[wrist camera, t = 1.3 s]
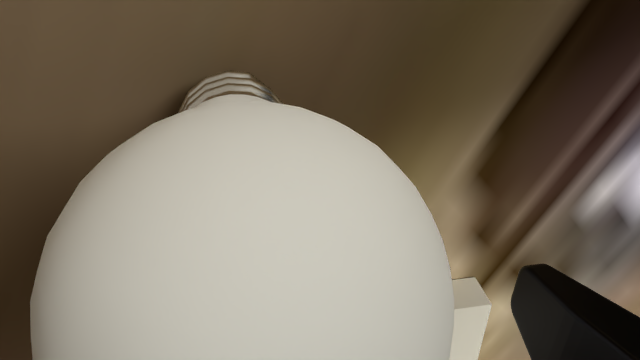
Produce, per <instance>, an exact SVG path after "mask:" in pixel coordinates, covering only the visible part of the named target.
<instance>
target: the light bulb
mask: <svg viewBox="0 0 640 360" xmlns="http://www.w3.org/2000/svg"><path fill="white" fill-rule="evenodd" d="M453 327H454V293H453V286H452V278H451V271H450V266H449V262H448V258H447V254H446V250H445V247H444V243H443V239H442V237H441V235H440V232H439V230H438V228H437V226H436V223H435V221H434V219H433V216H432V214H431V212H430V211H429V209H428V207H427V205H426V204H425V202H424V200H423V198H422V197H421V195H420V193H419V192H418V190H417V188H416V187H415V186H414V184H413V183H412V182H411V181H410V180H409V179H408V177H407V176H406V175H405V174H404V173H403V172H402V170H401V169H400V168H399V167H398V166H397V165H396V164H395V163H394V162H393V161H392V160H391V159H390V158H389V157H388V156H387V155H386V154H385V153H384V152H383V151H382V150H381V149H380V148H379V147H378V146H377V145H375V144H374V143H372V142H371V141H369V140H368V139H366V138H364V137H363V136H361V135H360V134H358V133H357V132H355V131H353V130H352V129H350V128H349V127H347V126H345V125H343V124H341V123H339V122H337V121H335V120H333V119H331V118H328V117H326V116H323V115H320V114H318V113H315V112H312V111H310V110H307V109H304V108H302V107H297V106H291V105H285V104H283V102H282V101H281V100H280V99H279V98H278V97H277V95H276V94H275V93H274V92H273V91H272V90H271V89H270V88H269V87H267V86H265V85H264V84H263V83H262V82H261V81H259V80H258V79H257V78H255V77H254V76H253V75H252V74H250V73H249V72H238V71H224V72H221V73H217V74H214V75H211V76H208V77H205V78H204V79H203V80H201V81H200V82H199V83H198V84H197V85H195V86H194V87H193V88H192V89H190V90H189V91H188V93H187V95H186V97H185V99H184V101H183V103H182V105H181V107H180V109H179V113H178V114H176V115H173V116H170V117H168V118H165V119H163V120H160V121H158V122H155V123H153V124H152V125H150V126H148V127H147V128H145V129H144V130H142V131H141V132H139V133H138V134H136V135H135V136H133V137H131V138H130V139H128V140H127V141H125V142H124V143H122V144H121V145H120V146H118V147H117V148H116V149H114V150H113V151H111V152H110V153H109V154H107V155H106V156H105V157H104V158H103V159H102V160H101V161H100V162H99V163H98V164H97V165H96V166H95V167H94V168H93V169H92V170H91V171H90V172H89V173H88V174H87V175H86V176H85V177H84V178H83V179H82V180H81V181H80V183H79V184H78V186H77V188H76V189H75V191H74V193H73V194H72V196H71V198H70V199H69V201H68V202H67V204H66V206H65V207H64V209H63V211H62V212H61V214H60V216H59V217H58V219H57V221H56V222H55V224H54V226H53V227H52V229H51V231H50V232H49V234H48V236H47V238H46V242H45V245H44V248H43V252H42V255H41V259H40V262H39V266H38V269H37V273H36V278H35V282H34V287H33V291H32V296H31V300H30V331H31V346H32V358H33V360H449V358H450V350H451V343H452V335H453Z"/></svg>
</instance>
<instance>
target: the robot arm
mask: <svg viewBox="0 0 640 360" xmlns="http://www.w3.org/2000/svg"><path fill="white" fill-rule="evenodd" d="M511 309H512V313H513V316H514V318H515V321H516V323H517V326H518V328H519V331H520V333H521V335H522V338H523V340H524V343H525V345H526V348H527V350H528V353H529V355H530V357H531V360H640V317H638V316H636V315H635V314H633V313H631V312H629V311H628V310H626V309H624V308H622V307H621V306H619V305H617V304H615V303H614V302H612V301H610V300H609V299H607V298H605V297H603V296H602V295H600V294H598V293H596V292H595V291H593V290H591V289H589V288H588V287H586V286H584V285H582V284H581V283H579V282H577V281H575V280H574V279H572V278H570V277H568V276H567V275H565V274H563V273H561V272H560V271H558V270H556V269H554V268H553V267H551V266H549V265H547V264H535V265H527V266H523V267H522V268H521V269H520V271H519V273H518V277H517V280H516V284H515V287H514V291H513V294H512V298H511Z"/></svg>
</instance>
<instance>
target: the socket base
mask: <svg viewBox="0 0 640 360" xmlns="http://www.w3.org/2000/svg"><path fill="white" fill-rule="evenodd" d="M452 286H453V293H454V327H453V335H452V343H451V350H450V358H449V360H477V359H478V356H479V352H480V348H481V344H482V340H483V336H484V333H485V329H486V325H487V321H488V317H489V313H490V310H491V306H492V304H491V302H490V301H489V299H488V297H487V296H486V294H485V293H484V291H483V289H482V288H481V286H480V285H479V283H478V281H477V280H476V278H475V277H472V278H464V279H456V280H452Z"/></svg>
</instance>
